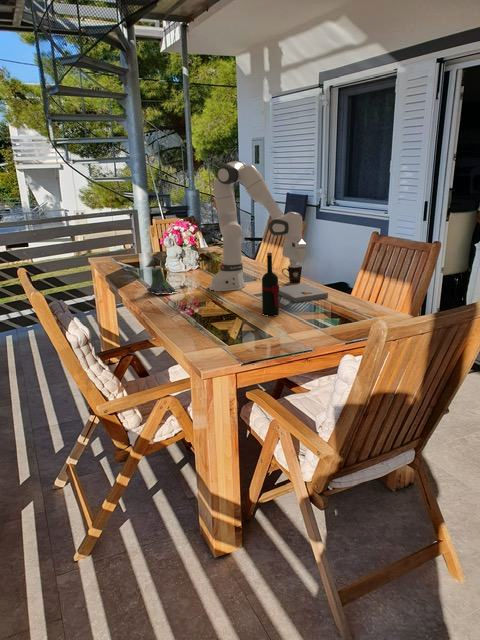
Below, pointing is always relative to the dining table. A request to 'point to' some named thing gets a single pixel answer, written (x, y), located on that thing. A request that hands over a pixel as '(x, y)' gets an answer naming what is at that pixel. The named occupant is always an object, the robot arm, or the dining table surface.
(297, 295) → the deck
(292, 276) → the coffee mug
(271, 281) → the wine bottle
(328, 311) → the dining table surface
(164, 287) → the tree stump
